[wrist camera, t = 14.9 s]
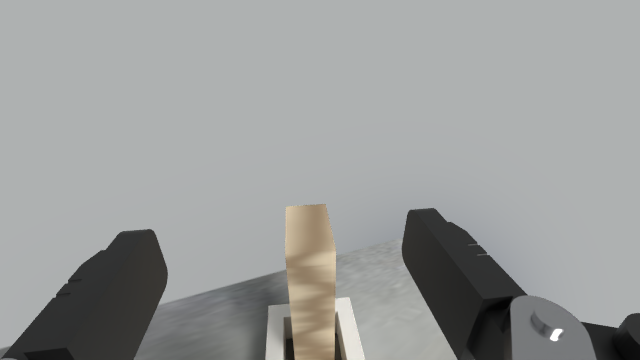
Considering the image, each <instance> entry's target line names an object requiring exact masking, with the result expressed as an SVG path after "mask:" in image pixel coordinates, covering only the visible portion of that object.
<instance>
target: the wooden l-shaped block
mask: <svg viewBox="0 0 640 360" xmlns="http://www.w3.org/2000/svg"><path fill="white" fill-rule="evenodd" d="M285 240H286V241H285V244H286V245H285V256H286V268H287V279H288V290H289V301H290V312H291V323H292V334H293V345H294V356H295V360H334V356H335V279H336V248H335V244H334V239H333V235H332V231H331V226H330V222H329V217H328V213H327V208H326V204H319V205H303V206H288V207H286V239H285Z"/></svg>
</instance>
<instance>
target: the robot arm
mask: <svg viewBox="0 0 640 360" xmlns="http://www.w3.org/2000/svg"><path fill="white" fill-rule="evenodd" d="M402 256H403V260H404V263H405V265H406V267H407V269H408V271H409V272H410V274H411V276H412V278H413V280H414V281H415V283H416V285H417V287H418V289H419V290H420V292H421V294H422V296H423V298H424V299H425V301H426V303H427V305H428V307H429V309H430V310H431V312H432V314H433V316H434V318H435V319H436V321H437V323H438V325H439V327H440V328H441V330H442V332H443V334H444V336H445V337H446V339H447V341H448V343H449V345H450V346H451V348H452V350H453V352H454V354H455V355H456V357H457V359H458V360H640V313H635V314H631V315H629V316H627V318H625V320H624V321H623V322H622V324H621V325H620V326H619V328H614V327H608V326H603V325H596V324H590V323H585V322H580V321H579V320H578V319H577V318H576V317H575V316H573V315H572V314H571V313H570V312H568V311H567V310H566V309H564V308H562V307H561V306H559V305H557V304H555V303H553V302H551V301H549V300H546V299H544V298H540V297H536V296H528V295H527V294H526V293H525V292H524V291H523V290H522V289H521V288H520V287H519V286H518V285H517V284H516V283H515V282H514V280H513V279H512V278H511V277H510V276H509V275H508V274H507V273H506V272H505V271H504V270H503V269H502V268H501V267H500V266H499V265H498V264H497V263H496V262H495V261H494V260H493V259H492V257H490V255H487V252H486V251H485V250H484V249H483V248H482V247H481V246H480V245H478V244H477V242H476V241H475V240H474V239H473V238H472V237H471V236H470V235H469V234H468V232H467V231H465V230H463V229H462V228H460V227H458V226H457V225H455V224H454V223H451V222H447V221H446V220H445V219H444V218H443V217H442V216H441V215H440V214H439V213H438V211H437V210H436V209H434V208H428V209H417V210H416V209H415V210H410V211H409V212H408V215H407V221H406V226H405V231H404V237H403V243H402ZM167 276H168V272H167V267H166V264H165V261H164V258H163V255H162V252H161V249H160V246H159V243H158V240H157V237H156V235H155V233H154V231H152V230H151V229H147V230H134V231H123V232H120V233H119V234H118V235H117V236H116V238H115V239H114V240H113V242H112V243H111V244H110V245H109V246H108V248H107V249H106V250H102V251H100V252H98V253H97V254H96V255H94V256H93V257H91V258H90V259H89V260H87V261H86V262H84V263H83V264H82V265H81V266H80V267H79V268H78V269H77V271H76V272H75V273H74V274H73V275H72V276H71V278H70V279H69V280H68V284H65V285H64V286H63V287H62V288H61V289H60V291H59V292H58V293H57V294H56V298H53V299H52V300H51V301H50V302H49V303H48V304H47V306H46V307H45V308H44V309H43V310H42V311H41V313H40V314H39V315H38V316H37V317H36V318H35V320H34V321H33V322H32V323H31V324H30V325H29V327H28V328H27V329H26V330H25V332H23V334H22V335H21V336H20V337H19V338H18V339H17V341H16V342H15V343H14V344H13V345H12V346H11V348H10V349H9V350H8V351H7V352H6V353H5V355H4V356H3V357H2V358H1V359H0V360H133V359H134V357H135V355H136V353H137V351H138V348H139V346H140V344H141V342H142V339H143V337H144V335H145V333H146V330H147V328H148V326H149V324H150V321H151V319H152V317H153V315H154V312H155V310H156V308H157V306H158V303H159V301H160V299H161V297H162V294H163V292H164V290H165V287H166V284H167Z"/></svg>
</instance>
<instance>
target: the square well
mask: <svg viewBox="0 0 640 360" xmlns="http://www.w3.org/2000/svg"><path fill="white" fill-rule="evenodd" d="M335 333H337V335H338V341H339V346H340V352H341V357H342V360H365V357H364V353H363V349H362V346H361V342H360V338H359V334H358V330H357V326H356V322H355V318H354V314H353V310H352V306H351V302H350V298H349V297H347V298H337V299H335ZM290 338H293V334H292V323H291V312H290V304H280V305H271V306H269V309H268V326H267V343H266V360H286V339H290Z"/></svg>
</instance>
